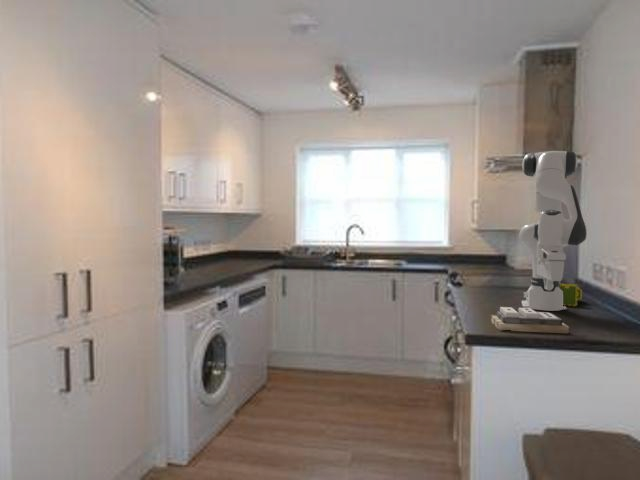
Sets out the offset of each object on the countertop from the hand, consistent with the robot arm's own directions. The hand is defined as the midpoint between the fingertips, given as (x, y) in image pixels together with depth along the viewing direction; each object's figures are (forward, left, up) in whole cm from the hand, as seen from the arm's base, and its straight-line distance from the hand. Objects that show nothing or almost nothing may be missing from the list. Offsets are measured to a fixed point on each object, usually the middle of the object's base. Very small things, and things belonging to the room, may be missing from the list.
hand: (547, 289), depth 187 cm
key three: (0, 0, -12) cm, 12 cm away
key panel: (0, -7, -15) cm, 16 cm away
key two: (0, -7, -10) cm, 12 cm away
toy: (-67, +26, -15) cm, 73 cm away
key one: (0, -14, -10) cm, 17 cm away
